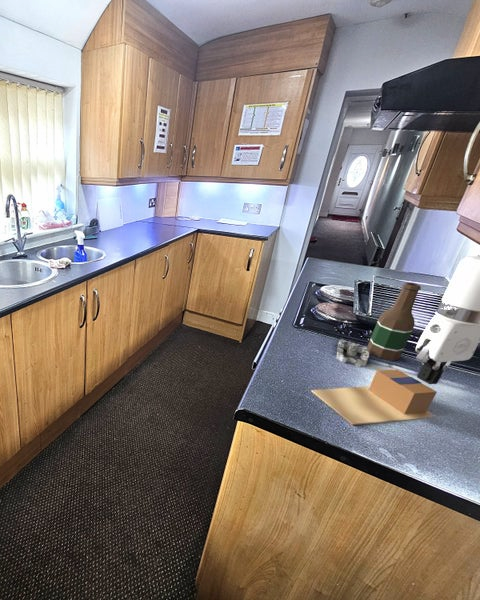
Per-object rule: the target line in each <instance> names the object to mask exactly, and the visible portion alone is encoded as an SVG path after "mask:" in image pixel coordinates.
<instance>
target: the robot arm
mask: <svg viewBox="0 0 480 600" xmlns="http://www.w3.org/2000/svg"><path fill="white" fill-rule="evenodd" d="M479 343H480V256H479V255H478V256H477V255H475V256H474V255H472V256H466V257H463V258H462V259H461V260H460V261H459V263H458V265H457V267H456V269H455V270H454V273H453V274H452V277H451V279H450V281H449V283H448V285H447V287H446V290H445V292H444V294H443V296H442V298H441V300H440V302H439V304H438V306H437V308H436V310H435V312H434V315H433V317H432V318H431V319H430V321H429V323H428V324H427V325H426V327H424V330H423V332H422V334H421V335H420V336H419V339H418V341H417V343H416V347H415V352H416V353H418V354H417V355H416V357H415V360H417V361H419V362H421V367H420V369H419V371H418V373H417V375H416V377H417V379H419V380H421V381H423V382H424V383H426V384H428V385H437V384H438V383H439V381H440V379H441V377H442V375H443V373H444V371H446V370H447V369H448V368H449V366H450V365H451V364H452V363H454V362H462V361H463V362H464V361H468V360H471V359H472V357H473V355H474V354H475V352H476V350H477V347H478V346H479Z"/></svg>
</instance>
